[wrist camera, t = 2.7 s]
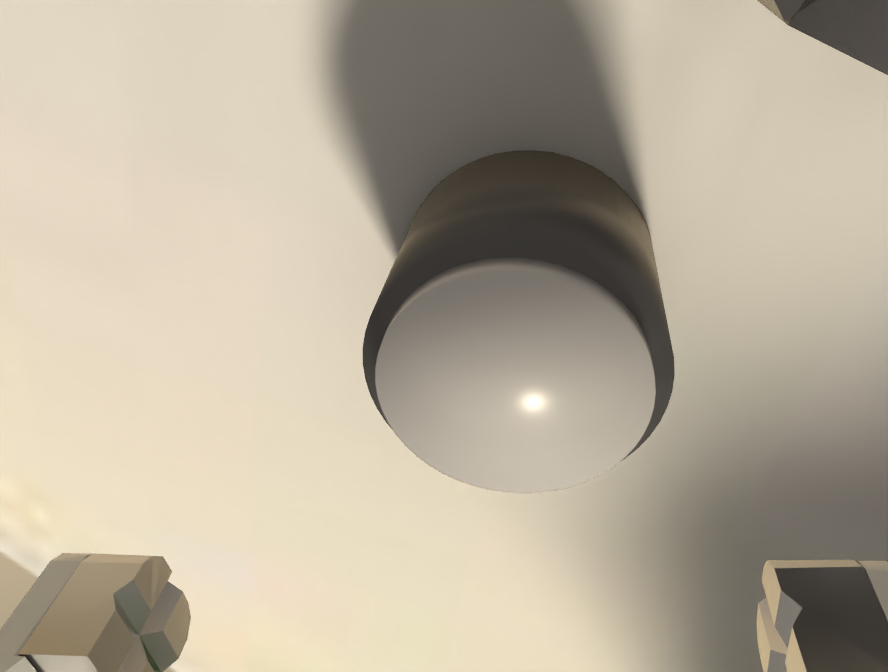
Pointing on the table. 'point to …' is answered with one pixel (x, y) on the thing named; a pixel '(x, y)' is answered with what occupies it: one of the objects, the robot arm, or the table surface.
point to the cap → (522, 327)
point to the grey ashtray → (841, 25)
